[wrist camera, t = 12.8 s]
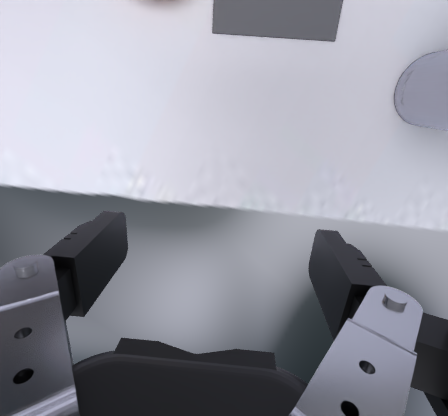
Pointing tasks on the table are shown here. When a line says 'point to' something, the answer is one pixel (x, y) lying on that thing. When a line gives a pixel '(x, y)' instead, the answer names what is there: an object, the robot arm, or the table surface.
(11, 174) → the table surface
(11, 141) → the table surface
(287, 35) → the mat
